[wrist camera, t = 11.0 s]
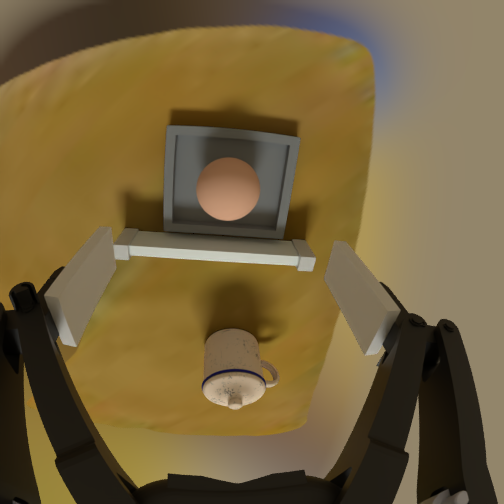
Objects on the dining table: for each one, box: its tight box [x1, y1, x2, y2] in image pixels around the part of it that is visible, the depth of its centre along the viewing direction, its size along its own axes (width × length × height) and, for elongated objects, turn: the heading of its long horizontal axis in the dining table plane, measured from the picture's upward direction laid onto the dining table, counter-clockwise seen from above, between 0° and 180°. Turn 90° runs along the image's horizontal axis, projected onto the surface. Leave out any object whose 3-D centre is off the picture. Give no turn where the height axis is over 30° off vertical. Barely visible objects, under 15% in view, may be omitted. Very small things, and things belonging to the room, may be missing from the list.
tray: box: [164, 125, 300, 239], centre depth 29 cm, size 14×12×2 cm
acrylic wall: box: [113, 228, 316, 271], centre depth 31 cm, size 23×2×5 cm, turn 83°
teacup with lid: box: [202, 329, 279, 409], centre depth 38 cm, size 12×9×12 cm
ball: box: [196, 157, 260, 221], centre depth 27 cm, size 6×6×6 cm
